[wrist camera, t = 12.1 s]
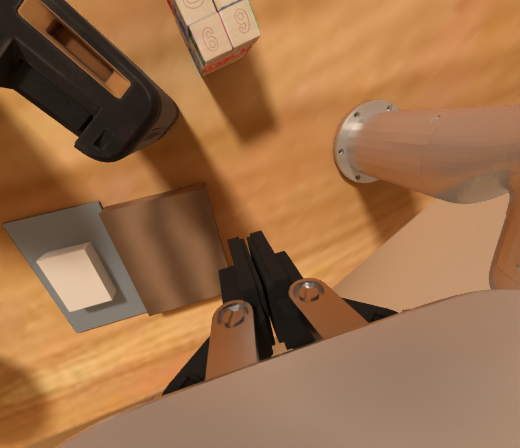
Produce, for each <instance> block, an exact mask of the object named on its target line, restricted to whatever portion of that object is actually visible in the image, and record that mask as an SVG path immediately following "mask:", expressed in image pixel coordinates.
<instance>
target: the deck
mask: <svg viewBox="0 0 520 448" xmlns="http://www.w3.org/2000/svg"><path fill="white" fill-rule="evenodd" d="M99 216H100V218H101V220H102V222H103V224H104V226H105V228H106V230H107V232H108V234H109V236H110V238H111V240H112V242H113V244H114V246H115V248H116V250H117V252H118V254H119V256H120V258H121V260H122V262H123V264H124V266H125V268H126V270H127V272H128V274H129V276H130V278H131V280H132V282H133V284H134V286H135V288H136V290H137V292H138V294H139V296H140V298H141V300H142V302H143V304H144V306H145V308H146V310H147V313H148V315H149V316H152V315H155V314H159V313H162V312H165V311H168V310H172V309H175V308H178V307H182V306H185V305H188V304H191V303H195V302H198V301H201V300H205V299H208V298H211V297H214V296H218V295H221V287H220V280H219V273H218V270H220V269H224V268H227V267H228V263H227V260H226V257H225V253H224V250H223V246H222V243H221V239H220V236H219V232H218V229H217V225H216V222H215V218H214V215H213V211H212V208H211V204H210V201H209V197H208V194H207V190H206V187H205V183H202V184H198V185H194V186H190V187H186V188H181V189H177V190H173V191H169V192H165V193H161V194H157V195H152V196H148V197H144V198H140V199H136V200H132V201H127V202H123V203H119V204H115V205H111V206H107V207H105V208H104V209H103V210H102V211H101V212H100V213H99Z"/></svg>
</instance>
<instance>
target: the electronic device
mask: <svg viewBox="0 0 520 448" xmlns="http://www.w3.org/2000/svg"><path fill="white" fill-rule="evenodd" d="M0 87H3V88H9V89H14V90H15V91H16V92H18V93H19V94H20V95H22V96H23V97H25V98H26V99H27V100H29V101H30V102H31V103H33V104H34V105H35V106H37V107H38V108H40V109H41V110H42V111H44V112H45V113H46V114H48V115H49V116H50V117H52V118H53V119H55V120H56V121H57V122H59V123H60V124H61V125H63V126H64V127H65V128H67V129H68V130H70V131H71V132H72V133H74V134H75V135H76V136H78V137H79V138H78V139H77V140H76V142H75V145H74V147H75V148H76V149H78V150H79V151H81V152H82V153H83V154H85V155H87V156H88V157H90V158H92V159H95V160H97V161H101V162H115V161H118V160H120V159H122V158H124V157H126V156H128V155H130V154H132V153H134V152H136V151H138V150H140V149H142V148H144V147H145V146H147V145H149V144H151V143H153V142H154V141H156V140H158V139H160V138H161V137H163V136H164V135H165V133H166V132H167V131H168V130H169V129H170V127H171V126H172V125H173V124H174V123H175V121H176V120H177V118H178V115H179V110H178V107H177V105H176V103H175V102H174V101H173V100H172V99H171V98H170V97H169V96H168V95H167V94H166V93H165V92H164V91H163V90H162V89H161V88H160V87H159V86H158V85H157V84H155V83H154V82H153V81H152V80H151V79H150V78H149V77H148V76H147V75H146V74H145V73H144V72H143V71H142V70H141V69H140V68H139V67H138V66H137V65H135V64H134V63H133V62H132V61H131V60H130V59H129V58H128V57H127V56H126V55H124V54H123V53H122V52H121V51H120V50H119V49H118V48H117V47H116V46H115V45H113V44H112V43H111V42H110V41H109V40H108V39H107V38H106V37H105V36H103V35H102V34H101V33H100V32H99V31H98V30H97V29H96V28H95V27H94V26H92V25H91V24H90V23H89V22H88V21H87V20H86V19H85V18H84V17H82V16H81V15H80V14H79V13H78V12H77V11H76V10H75V9H74V8H73V7H71V6H70V5H69V4H68V3H67V2H66V1H65V0H0Z"/></svg>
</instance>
